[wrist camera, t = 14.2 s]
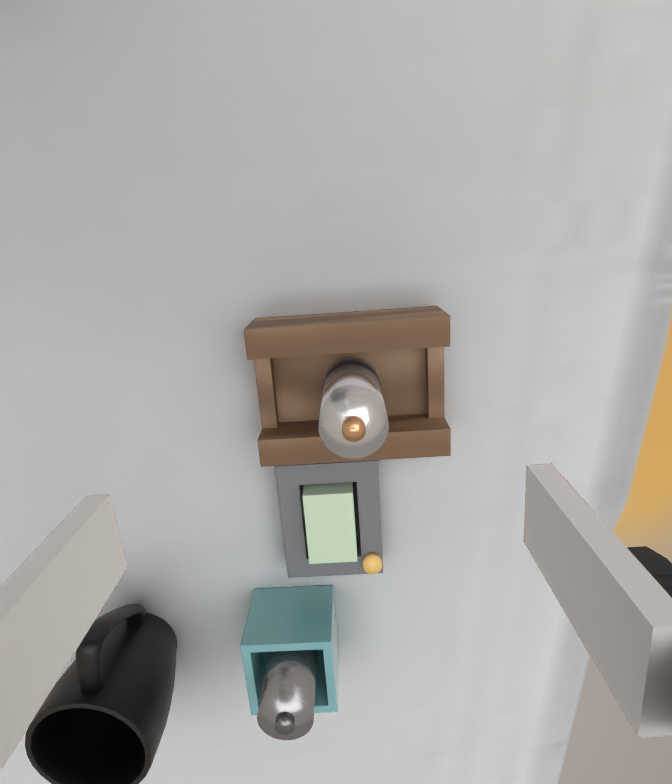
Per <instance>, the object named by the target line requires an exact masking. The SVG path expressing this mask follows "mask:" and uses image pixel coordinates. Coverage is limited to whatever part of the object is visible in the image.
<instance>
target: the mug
mask: <svg viewBox="0 0 672 784" xmlns="http://www.w3.org/2000/svg"><path fill="white" fill-rule="evenodd" d="M176 648H177V639H176V636H175V633H174V631H173V630H172V628H171V627H170V626H169V625H168V624H167V623H166V622H165V621H164V620H162V619H161V618H159V617H157V616H154V615H152V614H147V613H145V610H144V608H143V607H142V606H141V605H137V604H129V605H125V606H123V607H120V608H117V609H115V610H113V611H111V612H109V613H107V614H105V615H103V616H101V617H99V618H98V619H96V620H95V621H94V622H93V624H92V626H91V627H90V629H89V630H88V632H87V634H86V635H85V637H84V638H83V640H82V642H81V643H80V645H79V646H78V648H77V651H76V660H75V661H74V662H73V663H72V664H71V665H70V667H69V668H68V669H67V670H66V671H65V673H64V674H63V675H62V676H61V678H60V679H59V680H58V681H57V683H56V684H55V686H54V687H53V689H52V690H51V692H50V693H49V695H48V696H47V698H46V699H45V701H44V702H43V704H42V706H41V707H40V709H39V711H38V712H37V714H36V715H35V717H34V719H33V720H32V722H31V723H30V725H29V727H28V730H27V732H26V739H25V747H26V752H27V756H28V758H29V760H30V762H31V763H32V765H33V767H34V768H35V769H36V770H37V771H38V772H39V774H40V775H41V776H43V777H44V778H45V779H46V780H48V781H49V782H50V783H52V784H139V783H140V782H141V781H142V780H143V779H144V777H145V776H146V775H147V773H148V771H149V769H150V767H151V765H152V762H153V759H154V757H155V754H156V751H157V748H158V745H159V743H160V740H161V737H162V734H163V731H164V729H165V726H166V722H167V718H168V714H169V710H170V705H171V699H172V693H173V688H174V680H175V667H176Z"/></svg>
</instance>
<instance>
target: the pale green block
mask: <svg viewBox="0 0 672 784" xmlns="http://www.w3.org/2000/svg"><path fill="white" fill-rule="evenodd" d="M303 506H304V516H305V526H306V536H307V546H308V556H309V564H319V563H338V562H357V542H356V527H355V512H354V498H353V483H352V482H345V483H328V484H310V485H304V489H303Z"/></svg>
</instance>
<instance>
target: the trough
mask: <svg viewBox="0 0 672 784" xmlns="http://www.w3.org/2000/svg"><path fill="white" fill-rule="evenodd" d="M244 337H245V345H246V353H247V360H251V359H254V363H255V372H256V380H257V388H258V396H259V404H260V412H261V421H262V431H261V433H260V436H259V438H258V448H259V456H260V464H261V467H263V466H280V465H297V464H314V463H331V462H348V461H366V460H383V459H400V458H417V457H434V456H450V427H449V425H448V424H447V422H446V420H445V418H444V347H448V346H450V315H448V314H447V313H446V312H444V311H443V310H442V309H440V308H439V307H438V306H429V307H414V308H400V309H385V310H371V311H356V312H342V313H327V314H313V315H298V316H284V317H269V318H256V319H254V320H253V321H252V322H251V323H250V324H249V325H248V326H247V327H246V328H245V329H244ZM347 356H357V357H360V358H363V359H365V360H367V361H368V362H369V363H370V364H371V365H372V366H373V367H374V368H375V370H376V372H377V374H378V377H379V380H380V384H381V391H382V396H383V400H384V404H385V408H386V412H387V417H388V422H389V430H388V435H387V437H386V440H385V441H384V443H383V445H382V446H381V447H380V448H379V449H378V450H377V451H375V452H374V453H373V454H371V455H369V456H366V457H363V458H357V459H350V458H344V457H341V456H338V455H336V454H335V453H333V452H332V451H330V450H329V449H328V448H327V447H326V446H325V444H324V443H323V441H322V439H321V437H320V434H319V417H320V409H321V402H322V388H323V381H324V378H325V374H326V372H327V370H328V368H329V367H330V366H331V365H332V364H333V363H334V362H335V361H336V360H338V359H340V358H343V357H347Z"/></svg>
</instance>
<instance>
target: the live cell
mask: <svg viewBox="0 0 672 784" xmlns="http://www.w3.org/2000/svg"><path fill="white" fill-rule="evenodd" d="M388 430H389V422H388V417H387V412H386V408H385V404H384V400H383V396H382V391H381V384H380V380H379V377H378V374H377V372H376V370H375V368H374V367H373V366H372V365H371V364H370V363H369V362H368V361H367V360H365V359H363V358H360V357H357V356H347V357H343V358H340V359H338V360H336V361H335V362H334V363H333V364H332V365H331V366H330V367H329V368H328V370H327V372H326V374H325V378H324V381H323V388H322V402H321V409H320V417H319V434H320V437H321V439H322V441H323V443H324V444H325V446H326V447H327V448H328V449H329V450H330V451H332V452H333V453H335V454H336V455H338V456H341V457H344V458H350V459H357V458H363V457H366V456H369V455H371V454H373V453H374V452H375V451H377V450H378V449H379V448H380V447H381V446H382V445H383V443H384V441H385V440H386V437H387V435H388Z"/></svg>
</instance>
